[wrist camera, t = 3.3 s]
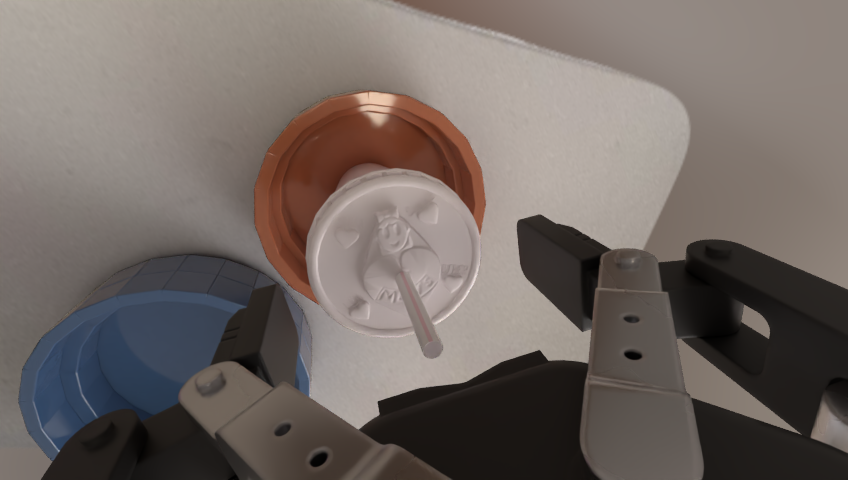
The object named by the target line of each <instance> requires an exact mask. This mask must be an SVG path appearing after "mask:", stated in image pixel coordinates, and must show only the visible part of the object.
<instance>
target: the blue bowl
mask: <svg viewBox="0 0 848 480" xmlns="http://www.w3.org/2000/svg"><path fill="white" fill-rule="evenodd" d="M273 284H277V283H275V282H274V281H272V280H271V279H270V278H268V277H267V276H265V275H264V274H262V273H261V272H258V271H257V270H254V269H251V268H249V267H246V266H243V265H241V264H238V263H235V262H233V261H230V260H226V259H222V258H214V257H205V256H197V255H183V256H174V257H166V258H158V259H152V260H148V261H145V262H143V263H140V264H137V265H135V266H132V267H130V268H127V269H125V270H122V271H119V272H117V273H116V274H114V275H113V276H112V277H110V278H109V279H108V280H107V281H105V282H104V283H103V284H101V285H100V286H99V287H98V288H96V289H95V290H94V291H92V292H91V293H90V294H89V295H88V296H87V297H86V298H84V299H83V300H82V301H81V302H80V303H79V304H78V305H77V306H76V307H74V308H73V309H72V310H71V311H70V312H69V313H68V314H67V315H66V316H64V317H63V318H62V319H61V320H60V321H59V322H58V323H57V324H56V325H54V326H53V327H52V328H51V329H50V330H49V331H48V332H47V333H46V334H44V335H43V337H42V338H41V339H40V340H39V342H38V344H37V345H36V347H35V349H34V350H33V352H32V353H31V355H30V357H29V358H28V360H27V361H26V363H25V365H24V366H23V369H22V376H21V383H20V391H19V398H18V401H19V402H18V403H19V406H20V409H21V412H22V416H23V419H24V422H25V425H26V428H27V431H28V433H29V435H30V436H31V437H32V438H33V439H34V441H35V442H36V443H37V444H38V446H39V447H40V448H41V449H42V451H43V452H44V453H45V454H46V455H47V457H48V458H50V460H51V461H53V460H54V459H55V457H56V456H57V454H58V453H59V451H60V450H61V448H62V447H63V446H64V444H65V443H66V442H67V441H68V440H69V439H70V438H71V437H72V436H73V435H74V434H75V433H76V432H77V431H79V430H80V429H81V428H82V427H84V426H85V425H87V424H88V423H90V422H91V421H93V420H95V419H97V418H99V417H100V416H103V415H105V414H107V413H110V412H112V411H116V410H120V409H132V410H134V411H135V412H136V413H137V415H138V416H139V418H140V419H141V421H143V420H145V419H147V418H149V417H151V416H153V415H155V414H157V413H159V412H161V411H163V410H166V409H168V408H170V407H171V406H173V405H175V404H177V403H179V400H178V394H179V391H180V389H181V388H182V386H183V385H184V384H185V383H186V382H187V381H188V380H189V379H190V378H191V377H192V376H194V375H195V374H196V373H198V372H199V371H201V370H203V369H205V368H207V367H209V366H210V364H211V362H212V359H213V357H214V355H215V352H216V350H217V347H218V345H219V342H221V341H220V340H221V337H222V335H223V333H224V330H225V327H226V325H227V323H228V320H229V319H230V318H231V317H232V316H233V315H234V314H235V313H236V312H237V311H238V310H239V309H243V308H246V307H247V305H248V303H249V300H250V297H251V294H252V291H253V290H254V289H258V288H262V287H266V286H269V285H273ZM280 287H281V286H280ZM281 288H282V287H281ZM282 291H283V293H284V296H285V299H286V301H287V304H288V307H289V309H290V312H291V315H292V317H293V320H294V323H295V325H296V329H297V333H298V340H299V345H298V355H297V365H296V375H295V385H294V388H296V389H298V390H299V391H301V392H302V393H304V394H305V395H307V396H308V397H310V395H311V366H312V336H311V333H310V330H309V327H308V324H307V322H306V319H305V316H304V313H303V312H302V310H301V309H300V308H299V306H298V305H297V304H296V303H295V301H294V300H293V299H292V298H291V296H290V295H289V294H288V293H287V291H286V290H285V289H284V288H282Z"/></svg>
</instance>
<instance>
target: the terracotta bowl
mask: <svg viewBox="0 0 848 480" xmlns="http://www.w3.org/2000/svg"><path fill="white" fill-rule="evenodd" d="M363 163H375V164H379V165H382V166H384V167H387V168H389V169H393V168H400V169H407V170H414V171H420V172H423V173H425V174H427V175H430V176H432V177H434V178H436V179H439V180H441V181H442V182H443V183H444V184H446V185H447V186H448V187H449V188H450V189H452V190H453V191H454V192H455V193H456V194H457V195H458V196H459V198H460V199H461V200H462V201H463V202H464V204H465V205H466V206H467V208H468V209H469V210H470V212H471V214H472V215H473V217H474V219H475V222H476V224H477V227H478V230H479V234H480V233H481V228H482V222H483V217H484V211H485V206H486V200H485V192H484V184H483V176H482V171H481V167H480V165H479V163H478V161H477V159H476V157H475V155H474V152H473V150H472V148H471V146H470V144H469V142H468V140H467V139H466V137H465V136H464V135H463V134H462V133H461V132H460V131H459V130H458V129H457V128H456V127H455V126H454V125H453V124H452V123H451V122H450V121H449V120H448V119H447V118H446V117H445V116H444V115H443V114H442V113H441V112H439V111H437V110H435V109H433V108H431V107H429V106H427V105H425V104H423V103H421V102H419V101H418V100H416V99H414V98H412V97H410V96H407V95H400V94H393V93H385V92H378V91H371V90H355V91H350V92H345V93H340V94H335V95H330V96H327V97H325V98H323V99H321V100H320V101H318V102H316V103H315V104H313V105H311V106H310V107H308V108H306V109H305V110H303V111H301V112H300V113H298V115H296V116H295V117H294V119H293V120H292V121H291V122H290V123H289V125H288V126H287V127H286V128H285V129H284V131H283V132H282V133H281V134H280V136H279V137H278V138H277V139H276V140H275V142H274V143H273V144H272V145H271V147H270V148H269V149H268V151H267V152H266V155H265V158H264V161H263V164H262V167H261V169H260V172H259V175H258V178H257V181H256V184H255V188H254V217H255V228H256V230H257V233H258V236H259V238H260V241H261V244H262V246H263V249H264V251H265V254H266V257H267V259H268V260H269V262H270V263H271V264H272V265H273V267H274V268H275V269H276V270H277V271H278V273H279V274H280V275H281V276H282V277H283V279H284V280H285V281H286V282H287V283H288V285H289V286H291V287H292V288H293V289H295V290H296V291H298V292H300V293H301V294H303V295H304V296H306V297H307V298H309V299H311V300H312V301H314V302H315V303H317V304H319V302H318V301H317V299H316V297H315V296H314V293H313V291H312V289H311V286H310V282H309V278H308V273H307V263H306V258H305V257H306V245H307V235H308V233H309V230H310V228H311V225H312V223H313V220H314V218H315V215H316V213H317V212H318V211H319V209H320V208H321V207H322V206H323V204H324V203H325V202H326V200H327V199H328V198H329V196H330V195H331V194H333V193H334V192H335V190H336V188H337V186H338V183H339V181H340V179H341V178H342V176H343V175H344V174H345V173H346V172H347V171H348V170H349V169H350V168H352V167H354V166H356V165H359V164H363Z"/></svg>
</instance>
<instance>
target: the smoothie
mask: <svg viewBox="0 0 848 480" xmlns="http://www.w3.org/2000/svg"><path fill="white" fill-rule="evenodd" d="M305 258H306V263H307V273H308V278H309V282H310V286H311V289H312V291H313V293H314V296H315V297H316V299H317V301H318V302H319V304H320V305H321V307H322V308H323V309H324V310H325V311H326V313H327V314H328V315H329V316H331V317H332V318H333V319H334V320H335V321H337V322H338V323H339V324H341V325H343V326H344V327H346V328H348V329H350V330H352V331H354V332H357V333H360V334H363V335H368V336H373V337H383V338H392V337H402V336H407V335H411V334H415V333H416V336H417V338H418V341H419V344H420V346H421V349H422V352H423V354H424V356H425V357H427V358H436V357H438V356H439V355H440V354H441V353H442V351H443V345H442V343H441V340H440V338H439V336H438V334H437V332H436V330H435V327H434V325H436V324H437V323H439V322H441V321H442V320H444V319H445V318H446V317H448V316H449V315H450V314H451V313H452V312H453V311H454V310H455V309H456V308H457V307H458V306H459V305H460V304H461V303H462V302H463V300H464V299H465V298H466V296H467V295H468V293H469V292H470V290H471V288H472V286H473V284H474V282H475V279H476V277H477V274H478V271H479V267H480V261H481V239H480V234H479V230H478V227H477V224H476V222H475V219H474V217H473V215H472V214H471V212H470V210H469V209H468V208H467V206H466V205H465V204H464V202H463V201H462V200H461V199H460V198H459V196H458V195H457V194H456V193H455V192H454V191H453V190H452V189H450V188H449V187H448V186H447V185H446V184H444V183H443V182H442V181H441V180H439V179H436V178H434V177H432V176H430V175H427V174H425V173H423V172H420V171H414V170H407V169H400V168H393V169H389V168H387V167H384V166H382V165H379V164H375V163H363V164H359V165H356V166H354V167H352V168H350V169H349V170H348V171H347V172H346V173H345V174H344V175H343V176H342V178H341V179H340V181H339V183H338V186H337V188H336V190H335V192H334V193H333V194H331V195H330V196H329V198H328V199H327V200H326V202H325V203H324V204H323V206H322V207H321V208H320V209H319V211H318V212H317V213H316V215H315V218H314V220H313V223H312V225H311V228H310V230H309V233H308V235H307V245H306V257H305Z"/></svg>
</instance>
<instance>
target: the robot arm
mask: <svg viewBox="0 0 848 480" xmlns="http://www.w3.org/2000/svg"><path fill="white" fill-rule="evenodd" d="M517 235H518V246H519V256H520V264H521V268H522V271H523V273H524V275H525V277H526V278H527V279H528V280H529V281H530V282H531V283H532V284H533V285H534V286H535V287H536V288H537V289H538V290H539V291H540V292H541V293H542V294H543V295H544V296H545V297H546V298H548V299H549V300H550V301H551V302H552V303H553V304H554V305H555V306H556V307H557V308H558V309H559V310H560V311H561V312H562V313H563V314H564V315H565V316H566V317H567V318H568V319H569V320H570V321H571V322H573V323H574V324H575V325H576V326H577V327H578V328H579V329H580V330H581V331H582V332H584V331H587V330H590V329H592V330H591V341H590V351H589V362H588V363H583V362H577V361H565V360H556V361H548V360H547V359H546V357H545V356H544V355H543V354H542V352H541V351H540V350H538V351H535V352H532V353H529V354H526V355H523V356H519V357H516V358H513V359H510V360H507V361H504V362H501V363H499V364H497V365H496V366H494V367H492V368H490V369H489V370H487V371H485V372H483V373H482V374H480V375H478V376H476V377H474V378H473V379H471V380H469V381H467V382H465V383H460V384H452V385H443V386H434V387H426V388H419V389H415V390H412V391H409V392H406V393H403V394H400V395H396V396H393V397H390V398H387V399H384V400H381V401H378V407H379V413H380V415H379V416H377V417H375V418H374V419H372V420H371V421H369V422H368V423H366V424H365V425H364V426H363V427H361V428H360V429H359V430H358V429H356V428H355V427H353V426H352V425H350V424H349V423H347V422H346V421H344V420H343V419H341V418H340V417H338V416H337V415H335V414H334V413H332V412H331V411H329V410H328V409H326V408H325V407H323V406H322V405H320V404H319V403H317V402H316V401H314V400H313V399H311V398H310V397H308V396H307V395H305V394H304V393H302V392H301V391H299V390H298V389H296V388H294V385H295V375H296V365H297V355H298V345H299V340H298V333H297V329H296V325H295V323H294V320H293V317H292V315H291V312H290V309H289V307H288V304H287V301H286V299H285V296H284V293H283V291H282V288H281V287H280V285H279V284H278V283H277V284H273V285H269V286H266V287H262V288H258V289H254V290H253V291H252V294H251V297H250V300H249V303H248V305H247V307H246V308H243V309H239V310H238V311H237V312H236V313H235V314H234V315H233V316H232V317H231V318H230V319H229V320H228V323H227V325H226V327H225V330H224V333H223V335H222V337H221V340H220V341H221V342H219V345H218V347H217V350H216V352H215V355H214V357H213V359H212V362H211V364H210V366H209V367H207V368H205V369H203V370H201V371H199V372H198V373H196V374H195V375H194V376H192V377H191V378H190V379H189V380H188V381H187V382H186V383H185V384H184V385H183V386H182V388H181V389H180V391H179V394H178V400H179V403H177V404H175V405H173V406H171V407H170V408H168V409H166V410H163V411H161V412H159V413H157V414H155V415H153V416H151V417H149V418H147V419H145V420H143V421H141V419H140V418H139V416H138V415H137V413H136V412H135V411H134V410H132V409H120V410H116V411H112V412H110V413H107V414H105V415H103V416H100V417H99V418H97V419H95V420H93V421H91V422H90V423H88V424H87V425H85V426H84V427H82V428H81V429H80V430H79V431H77V432H76V433H75V434H74V435H73V436H72V437H71V438H70V439H69V440H68V441H67V442H66V443H65V444H64V446H63V447H62V448H61V450H60V451H59V453H58V454H57V456H56V457H55V459H54V460H53V462H52V464H51V465H50V467H49V468H48V470H47V471H46V473H45V474H44V476H43V477H42V479H41V480H848V290H847V289H845V288H843V287H840V286H838V285H836V284H833V283H831V282H828V281H826V280H824V279H822V278H819V277H816V276H814V275H812V274H810V273H807V272H805V271H803V270H800V269H798V268H796V267H793V266H791V265H788V264H786V263H784V262H781V261H779V260H777V259H774V258H772V257H770V256H767V255H765V254H762V253H760V252H758V251H755V250H753V249H751V248H748V247H746V246H744V245H741V244H738V243H735V242H731V241H725V240H700V241H696V242H694V243H691V244H690V245H688V246H687V250H686V260H680V261H670V262H658V260H657V258H656V257H655V256H654V255H652V254H650V253H648V252H646V251H643V250H638V249H629V248H623V249H615V250H611V249H609V248H607V247H606V246H604V245H602V244H600V243H599V242H597V241H595V240H594V239H590V237H588V236H587V235H585V234H582V233H581V232H580V231H578V230H576V229H574V228H573V227H569V226H565V225H561V224H556V223H554V222H552V221H551V220H549V219H547V218H546V217H544V216H542V215H536V216H532V217H528V218H524V219H521V220H519V221H518V222H517ZM744 305H746V306H748V307H750V308H751V309H753V310H755V311H757V312H758V313H760V314H761V315H762V316H763V317H764V318H765V319H766V321H767V322H768V325H769V327H770V337H769V339H768V338H766V337H765V336H763V335H761V334H760V333H758V332H756V331H755V330H753V329H752V328H750V327H748V326H747V325H745V324H744V323H742V322H741V320H742V314H743V308H744ZM677 339H682V340H683V341H684V342H685V343H686V344H688V345H689V346H690V347H691V348H693V349H694V350H695V351H696V352H698V353H699V354H700V355H702V356H703V357H704V358H705V359H707V360H708V361H709V362H710V363H712V364H713V365H714V366H716V367H717V368H718V369H719V370H721V371H722V372H723V373H725V374H726V375H727V376H728V377H730V378H731V379H732V380H733V381H735V382H736V383H737V384H738V385H740V386H741V387H742V388H743V389H745V390H746V391H747V392H749V393H750V394H751V395H752V396H754V397H755V398H756V399H757V400H759V401H760V402H761V403H763V404H764V405H765V406H766V407H768V408H769V409H770V410H771V411H773V412H774V413H775V414H777V415H778V416H779V417H780V418H782V419H783V420H784V421H785V422H787V423H788V424H789V425H790V426H792V427H793V428H794V429H795V430H797V431H798V432H800V433H801V434H802V435H801V434H798V433H795V432H792V431H789V430H786V429H783V428H780V427H777V426H774V425H771V424H768V423H765V422H762V421H759V420H756V419H753V418H750V417H747V416H744V415H741V414H738V413H735V412H732V411H730V410H726V409H724V408H721V407H718V406H715V405H711V404H709V403H705V402H702V401H700V400H697V399H693V398H691V397H690V395H689V394H688V393H687V392H686V389H685V384H684V378H683V373H682V367H681V362H680V356H679V350H678V345H677Z"/></svg>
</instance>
